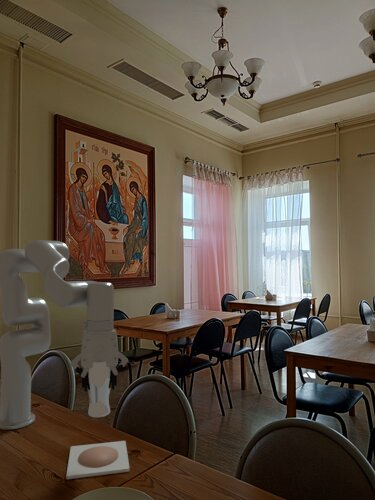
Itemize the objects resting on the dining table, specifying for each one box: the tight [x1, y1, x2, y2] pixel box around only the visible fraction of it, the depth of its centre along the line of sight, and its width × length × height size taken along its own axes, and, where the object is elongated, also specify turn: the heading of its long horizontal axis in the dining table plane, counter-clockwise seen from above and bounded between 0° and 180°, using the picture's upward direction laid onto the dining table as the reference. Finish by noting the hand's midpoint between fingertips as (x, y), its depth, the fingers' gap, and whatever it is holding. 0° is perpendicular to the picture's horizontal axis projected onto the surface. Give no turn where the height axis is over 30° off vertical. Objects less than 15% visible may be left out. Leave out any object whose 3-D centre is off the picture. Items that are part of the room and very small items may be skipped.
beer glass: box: [87, 361, 112, 418], centre depth 106 cm, size 7×7×15 cm
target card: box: [65, 440, 131, 480], centre depth 105 cm, size 16×16×1 cm
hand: (99, 388), depth 106 cm, fingers closed on beer glass, 6 cm apart
